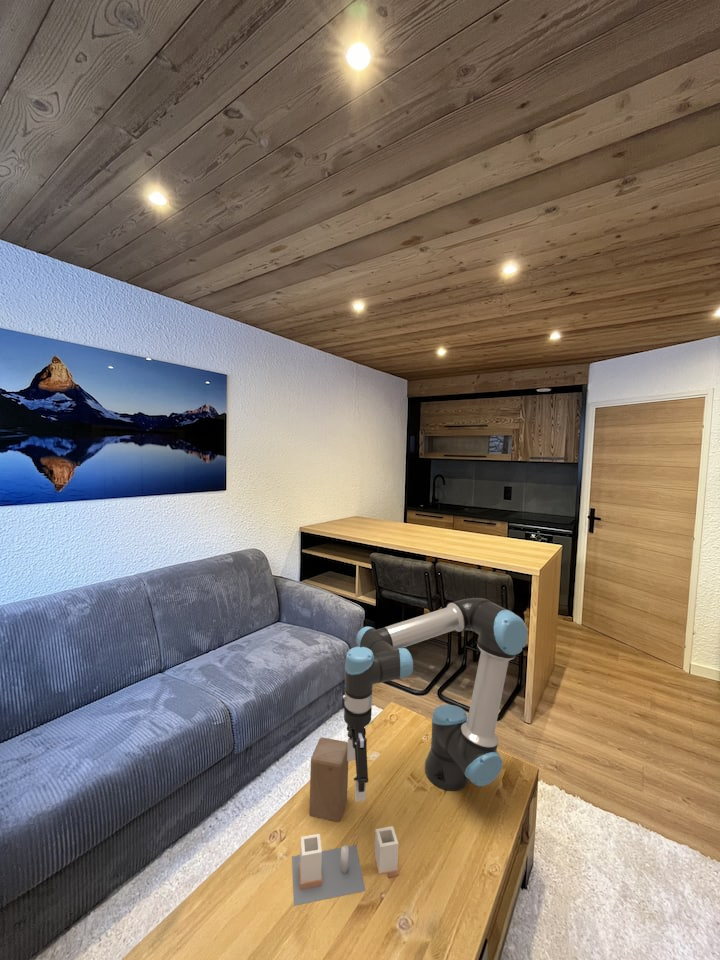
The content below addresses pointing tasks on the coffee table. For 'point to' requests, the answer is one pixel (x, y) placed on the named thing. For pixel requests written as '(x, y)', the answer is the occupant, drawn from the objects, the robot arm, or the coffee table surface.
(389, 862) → the sleeve
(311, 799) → the wooden block
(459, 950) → the coffee table surface
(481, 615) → the robot arm
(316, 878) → the sleeve
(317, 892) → the pin board
